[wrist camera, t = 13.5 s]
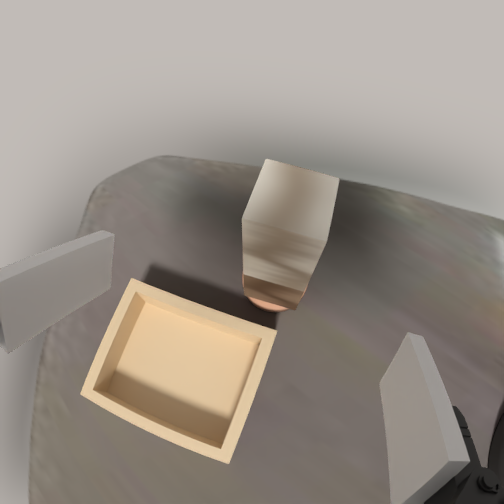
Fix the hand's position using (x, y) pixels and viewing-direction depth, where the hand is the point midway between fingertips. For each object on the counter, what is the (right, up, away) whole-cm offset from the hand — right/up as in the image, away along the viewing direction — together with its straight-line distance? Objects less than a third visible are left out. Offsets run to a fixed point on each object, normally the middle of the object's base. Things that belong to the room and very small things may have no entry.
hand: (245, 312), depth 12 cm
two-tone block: (+3, 0, +18) cm, 18 cm away
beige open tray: (-6, -9, +15) cm, 18 cm away
